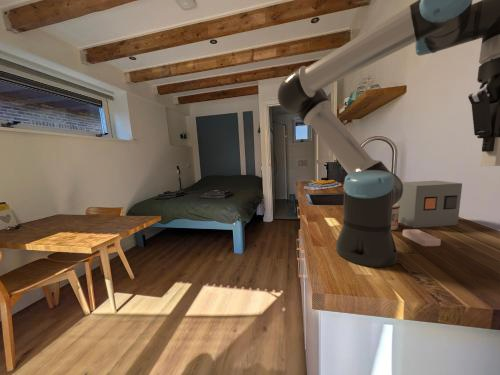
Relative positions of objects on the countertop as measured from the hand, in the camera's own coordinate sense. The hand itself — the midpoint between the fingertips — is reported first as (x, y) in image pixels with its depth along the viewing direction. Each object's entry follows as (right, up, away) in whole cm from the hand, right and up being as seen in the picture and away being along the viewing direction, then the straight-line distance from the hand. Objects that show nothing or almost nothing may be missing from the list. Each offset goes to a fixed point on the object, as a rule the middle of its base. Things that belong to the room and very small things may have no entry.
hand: (490, 165), depth 48 cm
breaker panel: (+13, -19, +33) cm, 40 cm away
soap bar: (-2, -23, +17) cm, 29 cm away
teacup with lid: (-4, -21, +31) cm, 37 cm away
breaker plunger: (+10, -13, +32) cm, 36 cm away
